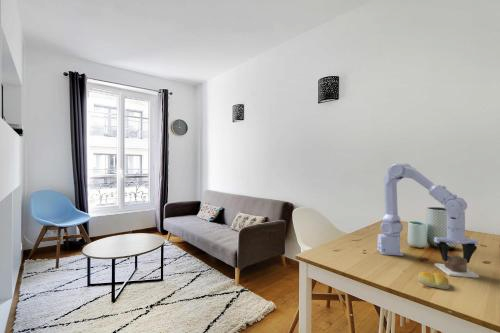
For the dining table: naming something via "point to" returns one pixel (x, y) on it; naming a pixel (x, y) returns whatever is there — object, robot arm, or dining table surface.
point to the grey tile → (453, 273)
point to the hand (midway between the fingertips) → (455, 261)
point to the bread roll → (434, 280)
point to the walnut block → (456, 263)
